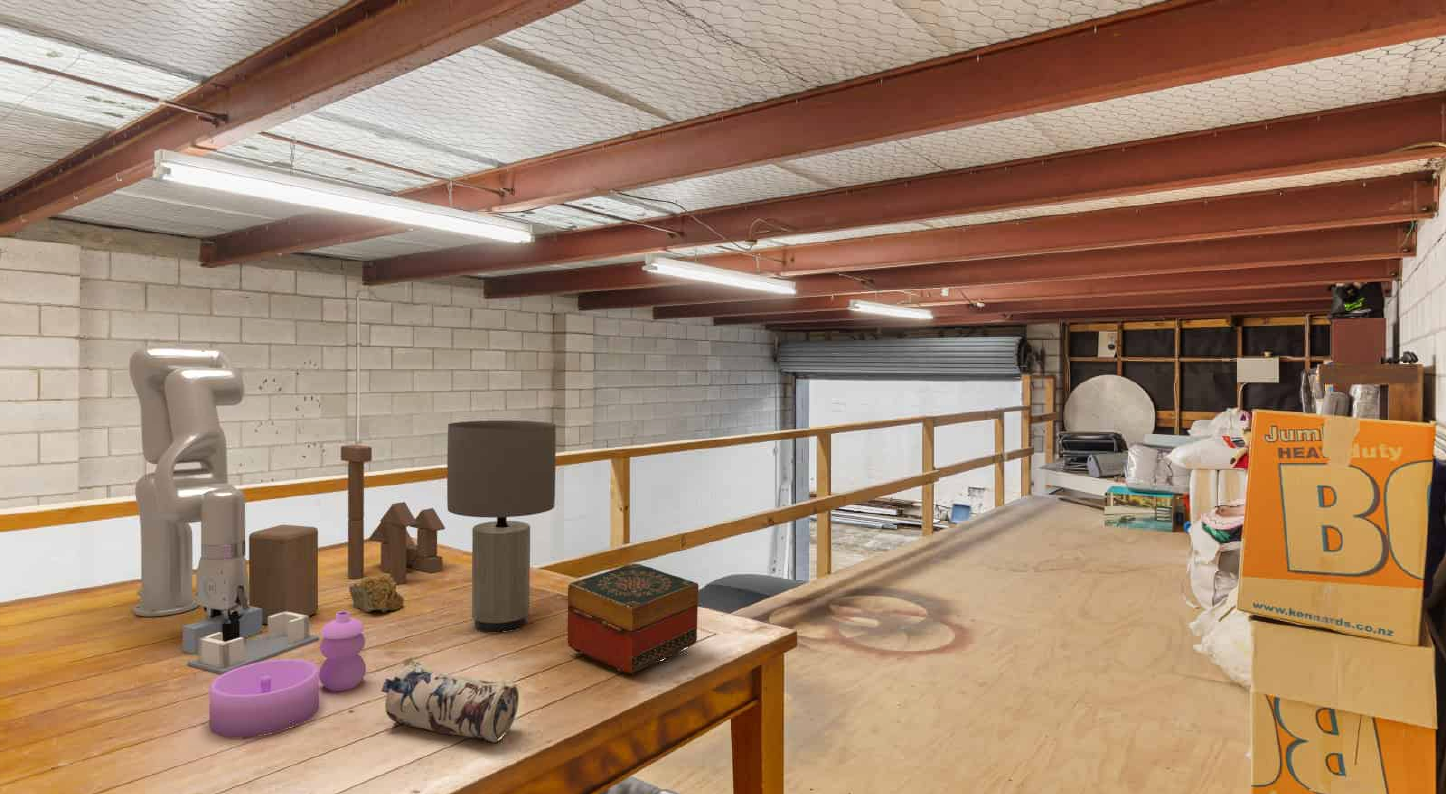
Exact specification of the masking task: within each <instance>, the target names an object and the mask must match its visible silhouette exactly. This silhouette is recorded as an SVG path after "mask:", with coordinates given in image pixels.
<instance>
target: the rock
mask: <svg viewBox="0 0 1446 794" xmlns="http://www.w3.org/2000/svg"><path fill="white" fill-rule="evenodd" d="M348 591H349V594H350V596H351V600H352V602H353V606H354V607H355V608H357V609H361V610H362V611H363V612H365V613H370V612H372V611H375V610H376V611H380V612H382V613H385V612H387V611H397V610H399V609H400V608H401V607H402V606H403V604H404V603H405V598H404V597H403V596H402V595H401V594H400V593H398V591H397V585H396V582H395V581H394V580H393V579H392V578H390V577H388V576H376V577H375V576H374V577H373V576H372V577H368V578H362V579H361V580H360V582H357V583H355V584H353V585H350V586H349V587H348Z"/></svg>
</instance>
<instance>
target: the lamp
mask: <svg viewBox="0 0 1446 794" xmlns="http://www.w3.org/2000/svg"><path fill="white" fill-rule="evenodd" d="M556 430H557V429H556V424H555V423H552V422H546V421H533V420H530V421H529V420H473V421H472V420H471V421H469V420H467V421H459V422H458V421H457V422H452V423H448V426H447V453H446V455H447V459H446V460H447V462H446V467H447V468H446V469H447V472H446V473H447V475H446V476H447V477H446V479H447V481H446V482H447V483H446V485H447V488H446V501H447V502H446V505H447V511H448V512H449V513H451V514H453V515H457V516H461V517H462V516H463V517H469V518H470V517H471V518H472V517H473V518H491V519H492V518H496V520H494V521H487V522H481V523H478V524H475V525H474V526H473V527H472V529H471V531H472V532H471V533H472V536H471V539H472V542H471V544H472V545H471V547H472V548H471V552H472V553H471V555H472V556H471V557H472V558H471V618H472V619H473V620H474V621H473V623H474V628H475V630H477V631H479V630H480V631H479V632H482V633H487V632H503V631H510V630H515V631H517V630H516V629H518V630H519V628H520V629H522V628H524V627H525V626H526V625H527V621H528V620H527V619H528V616H529V614H530V597H531V596H530V595H531V594H530V593H531V591H530V589H531V587H530V585H531V580H530V579H531V577H530V576H531V572H530V571H531V525H530V524H529V523H526V522H523V521H517V520H508V519H507V518H514V517H515V518H516V517H523V516H524V517H525V516H526V517H527V516H533V515H539V514H543V513H546V512H549V511H551V510H553V509H554V508H555V498H556V452H557V451H556V447H557V446H556V444H557V442H556V440H557V439H556V437H557V436H556V432H557V431H556ZM525 624H526V625H525ZM524 625H525V626H524ZM523 626H524V627H523ZM521 627H522V628H521ZM510 632H511V631H510Z"/></svg>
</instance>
